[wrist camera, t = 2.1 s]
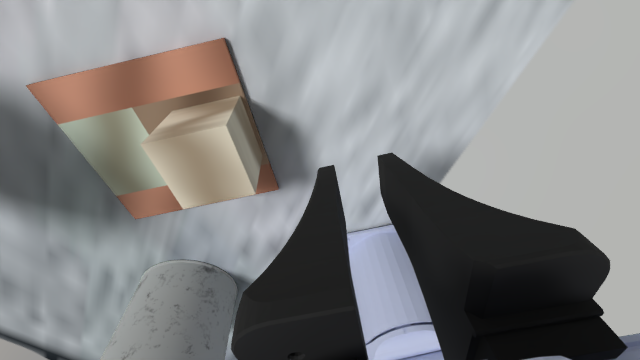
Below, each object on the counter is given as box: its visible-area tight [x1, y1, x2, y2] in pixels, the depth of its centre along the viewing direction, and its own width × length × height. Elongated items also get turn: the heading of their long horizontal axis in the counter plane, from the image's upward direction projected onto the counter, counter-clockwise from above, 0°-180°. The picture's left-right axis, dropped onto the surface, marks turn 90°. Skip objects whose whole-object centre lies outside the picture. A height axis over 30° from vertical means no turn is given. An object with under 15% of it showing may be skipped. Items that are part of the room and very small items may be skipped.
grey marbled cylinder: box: [100, 260, 238, 360], centre depth 24 cm, size 10×10×12 cm
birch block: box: [140, 96, 262, 209], centre depth 17 cm, size 4×4×4 cm
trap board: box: [26, 38, 279, 219], centre depth 19 cm, size 12×11×1 cm
